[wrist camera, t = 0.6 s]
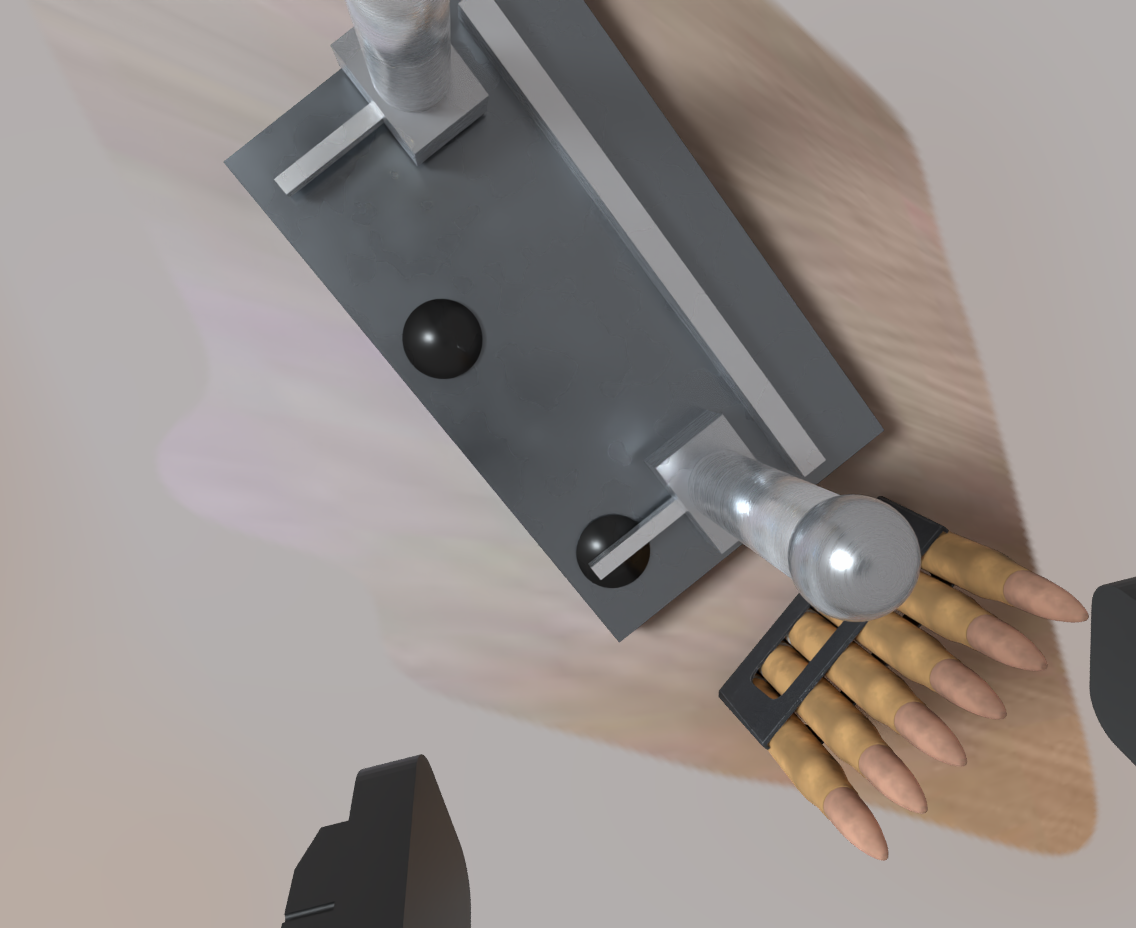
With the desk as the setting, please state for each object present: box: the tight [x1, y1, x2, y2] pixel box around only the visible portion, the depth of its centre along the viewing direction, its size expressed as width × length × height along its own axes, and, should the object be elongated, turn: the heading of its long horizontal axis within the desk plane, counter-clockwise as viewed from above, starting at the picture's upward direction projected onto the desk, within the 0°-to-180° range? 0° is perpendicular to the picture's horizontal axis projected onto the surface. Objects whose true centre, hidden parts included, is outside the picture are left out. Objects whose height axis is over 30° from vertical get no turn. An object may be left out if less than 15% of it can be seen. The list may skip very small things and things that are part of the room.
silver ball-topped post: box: [589, 410, 921, 622], centre depth 26 cm, size 4×7×14 cm, turn 128°
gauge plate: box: [224, 0, 884, 642], centre depth 31 cm, size 22×13×3 cm, turn 38°
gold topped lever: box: [274, 0, 489, 197], centre depth 22 cm, size 4×7×14 cm, turn 128°
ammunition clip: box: [719, 496, 1089, 860], centre depth 30 cm, size 11×2×12 cm, turn 141°
